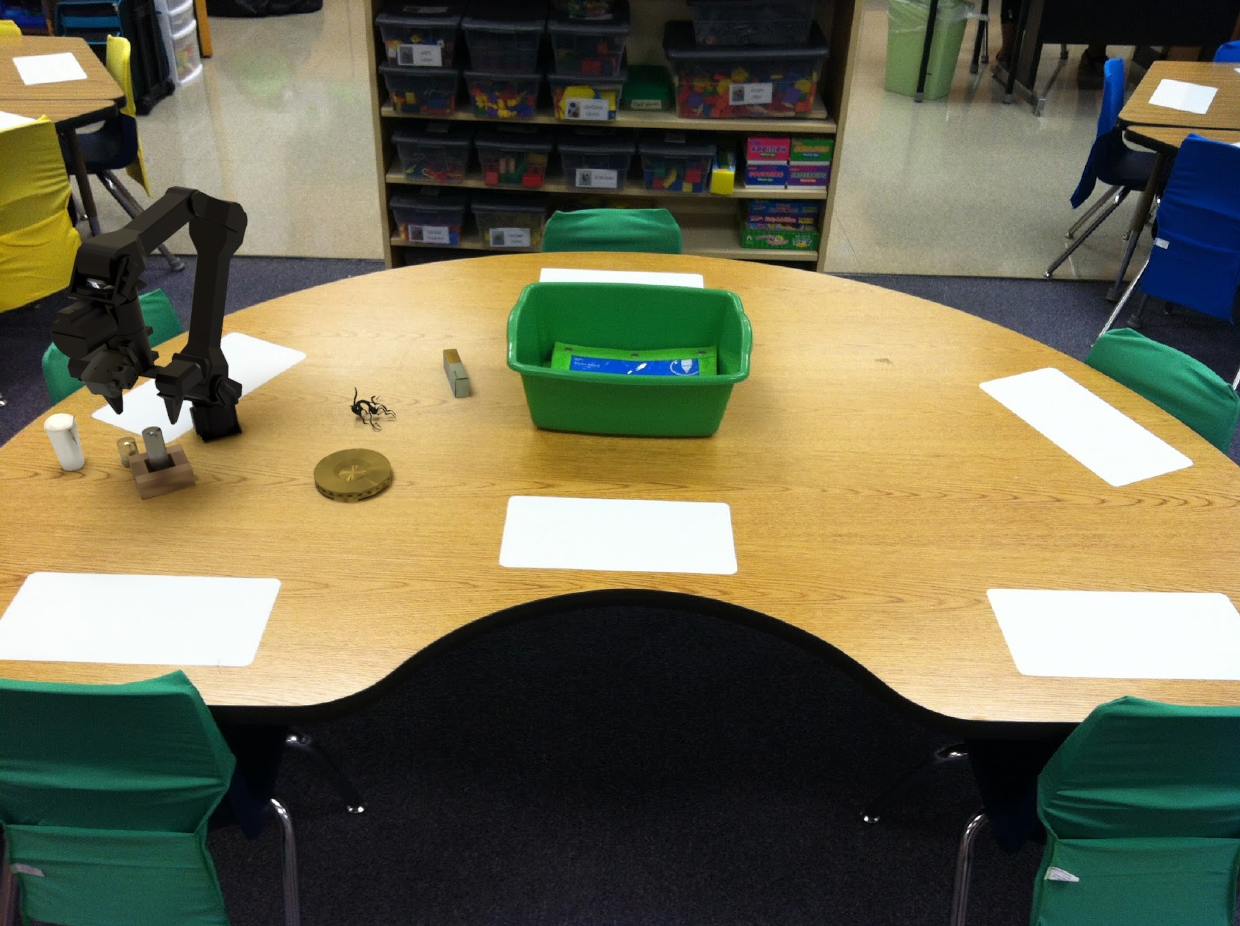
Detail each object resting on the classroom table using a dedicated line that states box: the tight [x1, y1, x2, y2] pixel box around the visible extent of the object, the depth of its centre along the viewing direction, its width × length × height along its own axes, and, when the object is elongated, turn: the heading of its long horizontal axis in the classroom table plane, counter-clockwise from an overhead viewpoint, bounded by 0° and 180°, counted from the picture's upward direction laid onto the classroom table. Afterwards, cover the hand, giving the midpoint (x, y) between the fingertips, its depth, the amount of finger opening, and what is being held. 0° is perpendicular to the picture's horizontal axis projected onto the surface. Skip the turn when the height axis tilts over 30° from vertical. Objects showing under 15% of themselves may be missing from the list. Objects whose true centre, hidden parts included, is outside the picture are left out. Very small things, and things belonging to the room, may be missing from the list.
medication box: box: [442, 348, 470, 399], centre depth 191 cm, size 12×3×4 cm, turn 19°
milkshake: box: [43, 413, 85, 472], centre depth 163 cm, size 4×5×10 cm
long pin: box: [141, 425, 171, 472], centre depth 162 cm, size 3×3×9 cm
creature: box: [349, 386, 397, 431], centre depth 180 cm, size 8×5×8 cm
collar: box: [128, 443, 197, 500], centre depth 164 cm, size 8×8×3 cm
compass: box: [313, 448, 393, 503], centre depth 166 cm, size 12×12×2 cm
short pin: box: [116, 436, 140, 468], centre depth 167 cm, size 3×3×4 cm
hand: (147, 418), depth 158 cm, fingers open, 9 cm apart
